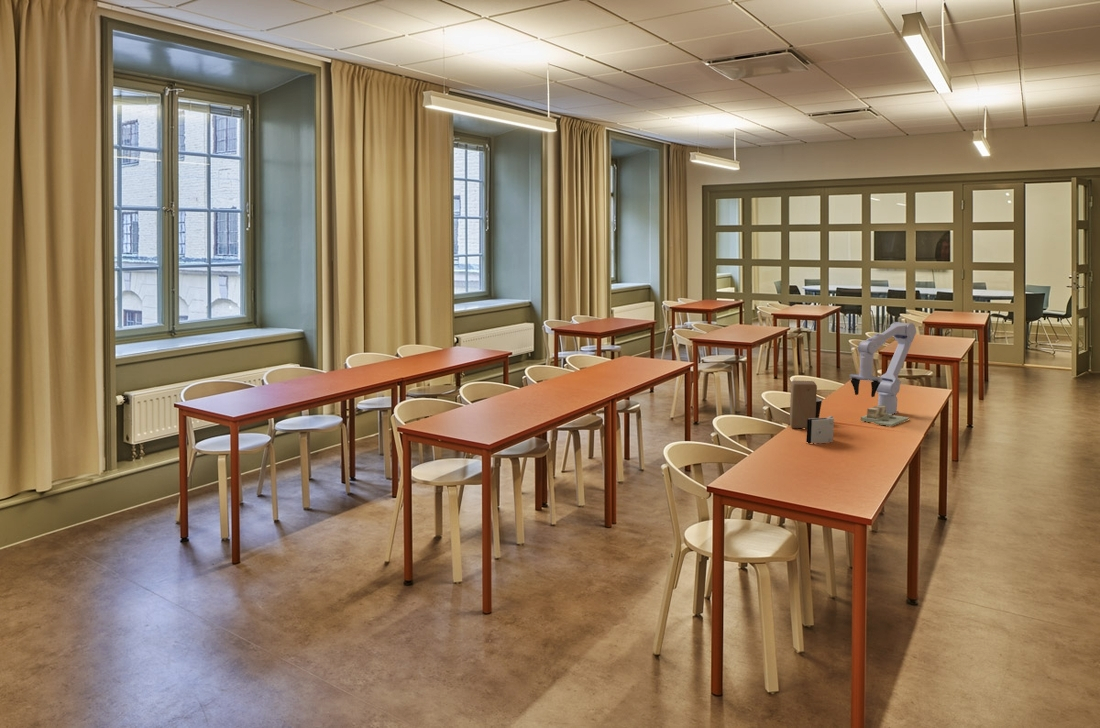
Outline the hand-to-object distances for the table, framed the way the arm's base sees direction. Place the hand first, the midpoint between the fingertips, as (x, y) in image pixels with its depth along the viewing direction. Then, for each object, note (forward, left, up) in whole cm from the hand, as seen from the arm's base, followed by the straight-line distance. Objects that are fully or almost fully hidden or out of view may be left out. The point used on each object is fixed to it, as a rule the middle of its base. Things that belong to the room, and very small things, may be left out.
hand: (864, 395), depth 380 cm
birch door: (+4, +7, -10) cm, 13 cm away
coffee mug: (+25, -14, -10) cm, 31 cm away
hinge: (+60, +9, -10) cm, 62 cm away
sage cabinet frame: (+3, +11, -10) cm, 15 cm away
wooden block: (+40, -10, -10) cm, 43 cm away
